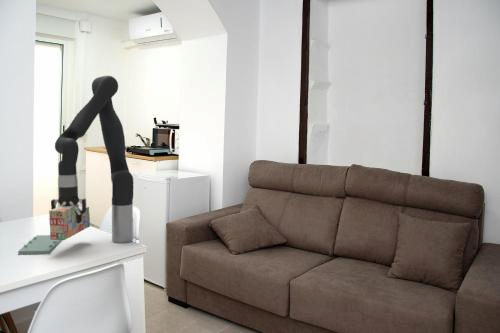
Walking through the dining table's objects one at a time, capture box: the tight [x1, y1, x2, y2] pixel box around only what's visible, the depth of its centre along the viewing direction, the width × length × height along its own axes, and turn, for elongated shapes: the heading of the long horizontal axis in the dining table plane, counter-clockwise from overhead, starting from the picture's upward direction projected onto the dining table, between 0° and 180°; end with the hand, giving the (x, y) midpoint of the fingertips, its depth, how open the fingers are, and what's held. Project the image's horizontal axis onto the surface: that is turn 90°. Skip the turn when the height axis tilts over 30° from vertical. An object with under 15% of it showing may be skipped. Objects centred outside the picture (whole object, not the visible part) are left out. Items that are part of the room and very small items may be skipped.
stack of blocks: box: [48, 204, 91, 241], centre depth 190 cm, size 21×6×12 cm, turn 172°
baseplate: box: [17, 234, 63, 256], centre depth 195 cm, size 12×24×2 cm, turn 9°
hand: (69, 223), depth 190 cm, fingers closed on stack of blocks, 7 cm apart
